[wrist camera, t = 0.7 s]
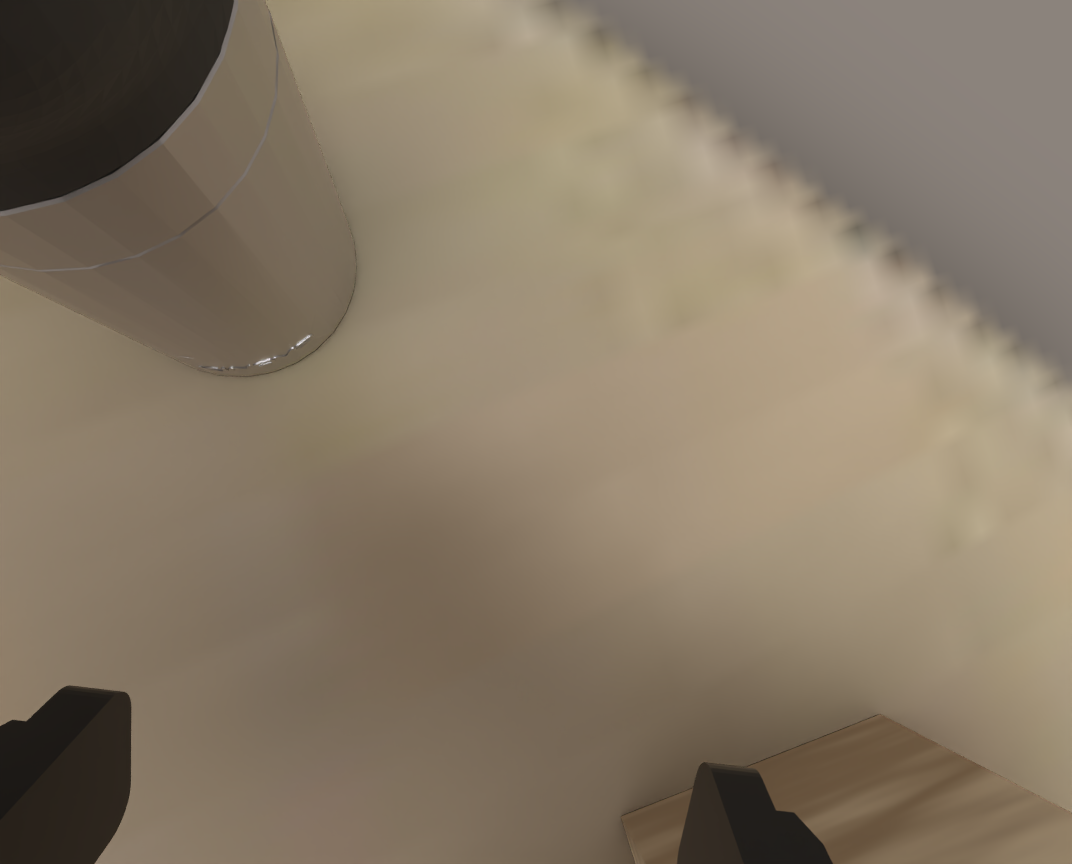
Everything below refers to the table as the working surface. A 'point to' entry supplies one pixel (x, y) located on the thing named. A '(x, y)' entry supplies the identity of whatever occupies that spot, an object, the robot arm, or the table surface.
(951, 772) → the pedestal
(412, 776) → the table surface
